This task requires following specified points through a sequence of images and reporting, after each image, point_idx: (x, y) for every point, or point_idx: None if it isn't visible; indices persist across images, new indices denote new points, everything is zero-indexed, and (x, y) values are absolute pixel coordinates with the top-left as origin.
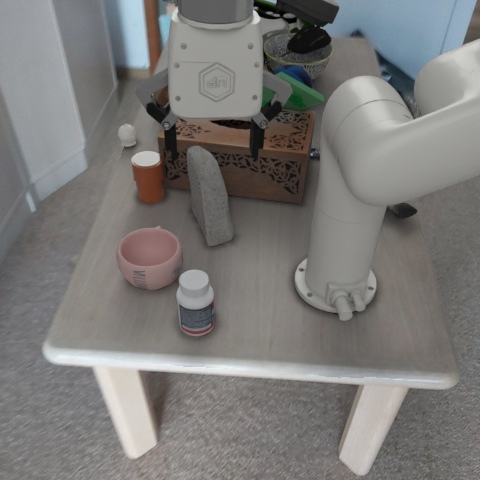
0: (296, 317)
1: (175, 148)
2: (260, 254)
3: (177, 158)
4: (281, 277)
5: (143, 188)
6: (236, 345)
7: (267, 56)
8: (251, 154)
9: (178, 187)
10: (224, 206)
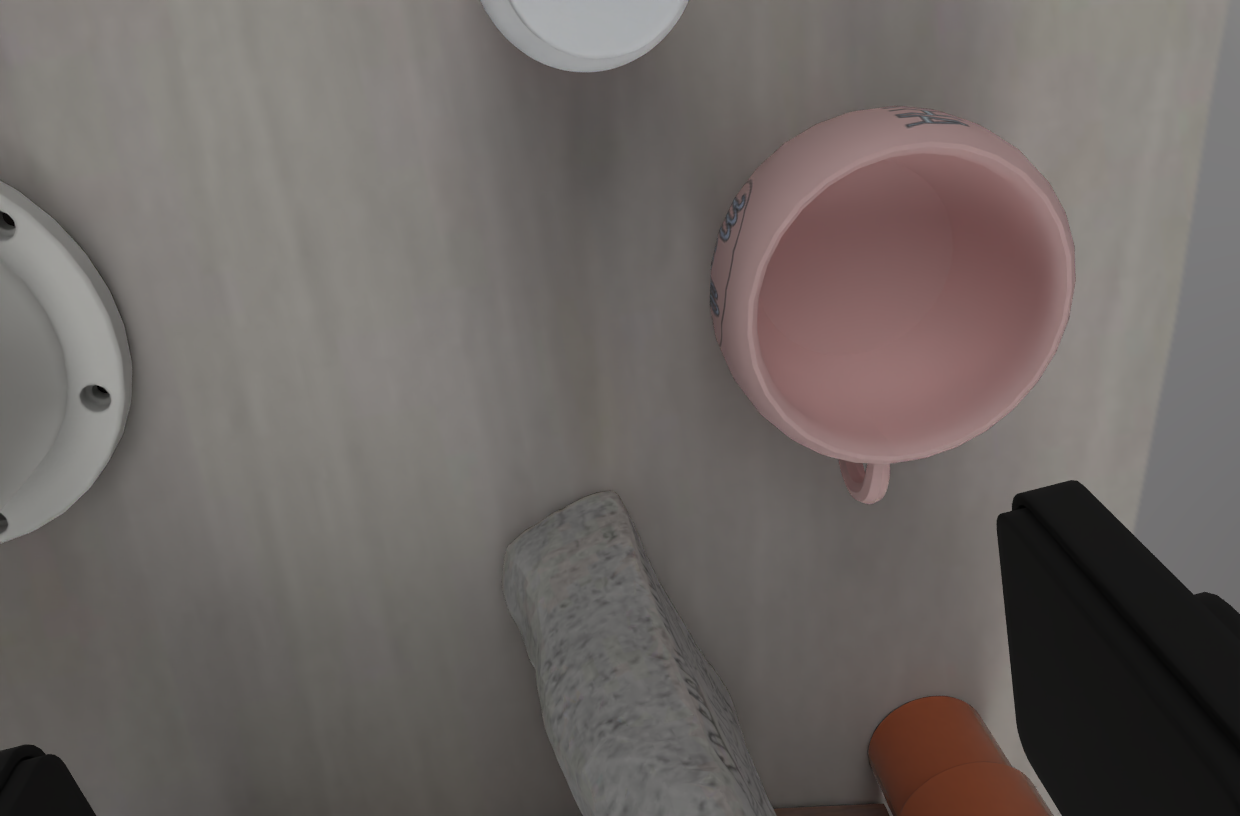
0: (47, 78)
1: (1102, 597)
2: (347, 485)
3: (1008, 516)
4: (203, 351)
5: (978, 750)
6: None
7: None
8: (72, 809)
9: (813, 811)
10: (551, 664)
